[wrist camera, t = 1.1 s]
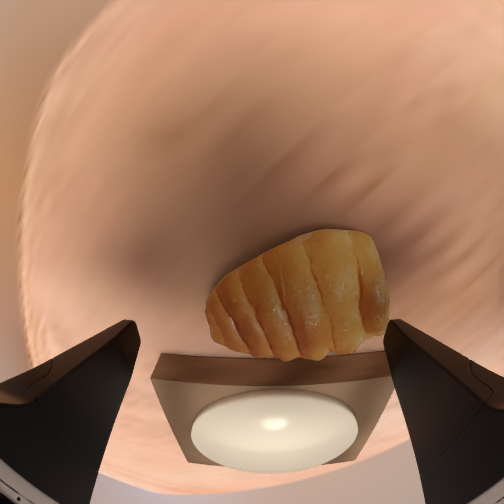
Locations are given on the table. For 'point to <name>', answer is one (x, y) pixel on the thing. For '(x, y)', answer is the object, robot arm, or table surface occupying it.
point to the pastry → (303, 298)
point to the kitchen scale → (272, 408)
